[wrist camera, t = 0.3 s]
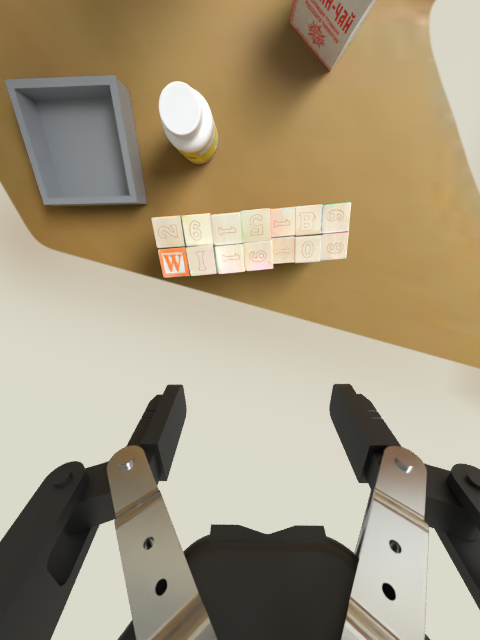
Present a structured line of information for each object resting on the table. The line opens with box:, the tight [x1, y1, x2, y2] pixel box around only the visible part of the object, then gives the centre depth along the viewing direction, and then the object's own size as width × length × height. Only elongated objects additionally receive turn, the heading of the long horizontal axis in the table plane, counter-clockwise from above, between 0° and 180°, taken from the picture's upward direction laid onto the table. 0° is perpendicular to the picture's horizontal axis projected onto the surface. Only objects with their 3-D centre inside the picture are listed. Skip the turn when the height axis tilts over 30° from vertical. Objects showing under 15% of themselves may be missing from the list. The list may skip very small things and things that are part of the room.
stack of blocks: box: [151, 202, 351, 278], centre depth 30 cm, size 21×6×12 cm, turn 94°
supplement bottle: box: [159, 82, 219, 164], centre depth 26 cm, size 5×5×10 cm
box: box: [4, 75, 147, 206], centre depth 30 cm, size 13×13×4 cm
